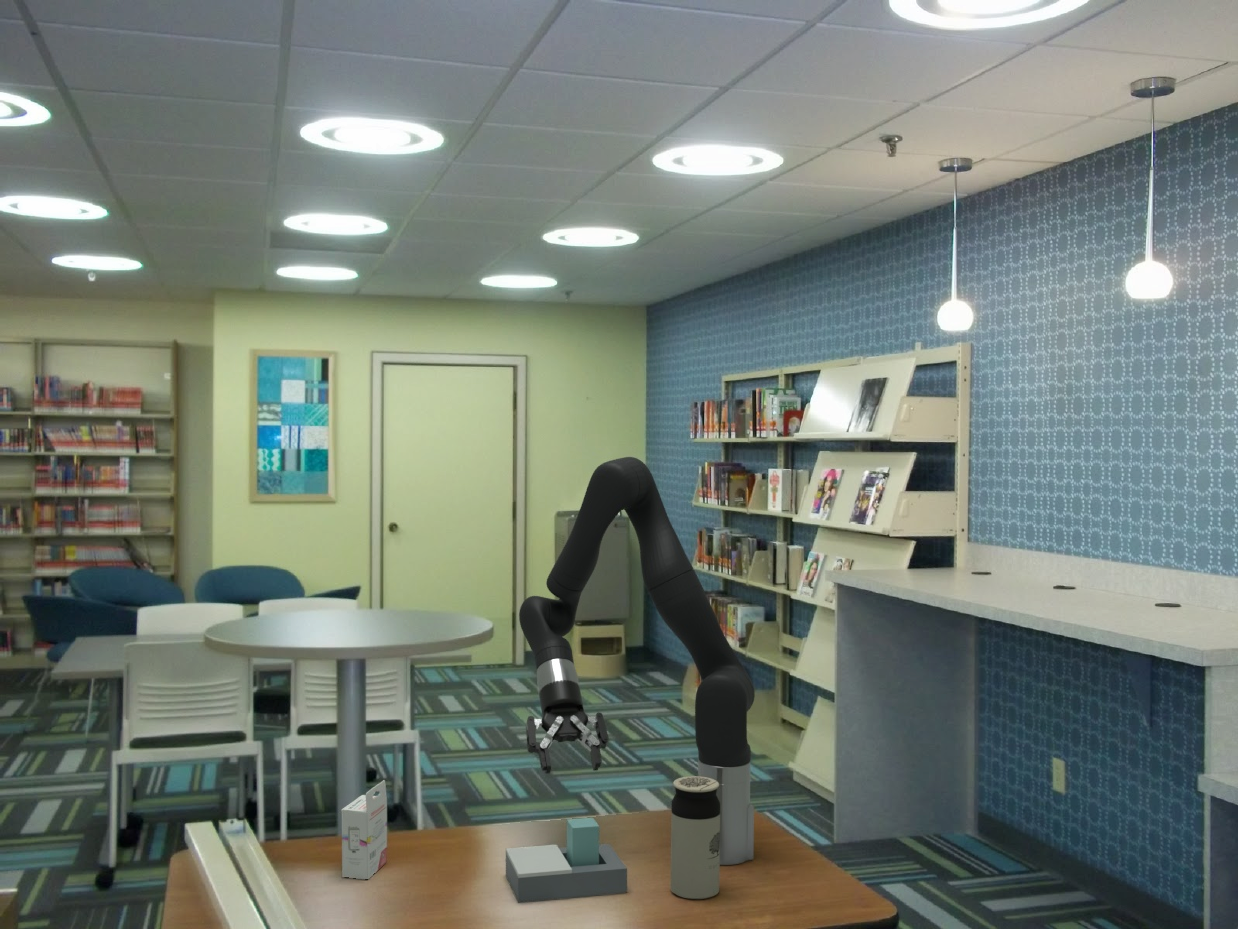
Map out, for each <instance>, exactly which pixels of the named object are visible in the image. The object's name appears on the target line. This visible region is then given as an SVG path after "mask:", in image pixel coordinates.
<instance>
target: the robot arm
mask: <svg viewBox="0 0 1238 929" xmlns="http://www.w3.org/2000/svg"><path fill="white" fill-rule="evenodd" d="M623 510H624V512H625V513H626V515H627V517H628V518H629V521H630V523H631V525H632V527H633V528H634V531H635V534H636V537H637V540H638V544H639V545H638V546H639V557H640V565H641V566H640V567H641V574H642V575H641V576H642V580H643V584H644V586H645V588H646V591H647V592H648V594H649V596H650V598H651V601H652V603H653V605H654V607H655V609H656V611H657V612H658V614H659V615H660V617H661V619H662V620H663V621H664V623H665V624H666V626H667V627H668V628H669V629H670V630H671V631H672V632H673V634H674V635H675V636H676V637H677V638H678V640H680V641H681V643H682V644H683V645H684V647H685V648H686V650H687V652H688V653H689V654H690V656H691V658H692V659H693V662H694V664H695V667H696V669H697V672H698V673H699V676H700V678H701V682H700V683H699V684H698V687H697V690H696V692H695V699H694V700H695V701H694V702H695V703H694V713H695V714H694V720H695V721H694V723H695V729H694V730H695V732H694V734H695V744H696V747H697V751H698V760H697V762H698V764H697V765H698V768H697V769H698V770H697V776H698V777H707V778H711V779H714V780H716V781H717V782H718V783H719V787H718V788H717V793H716V795H717V797H718V799H719V801H720V862H719V866H721V865H722V866H725V865H726V866H729V865H739V864H741V863H744V862H747V861H751V860H752V861H753V860H754V843H755V841H754V840H755V836H754V834H755V831H754V829H755V828H754V826H755V824H754V822H755V820H754V819H755V807H754V805H753V804H752V803H751V757H752V756H751V746H750V744H749V743H748V736H747V735H748V730H747V729H748V722H747V721H748V720H747V719H748V712H749V710H751V708H752V706H753V704H754V701H755V696H756V695H755V693H756V692H755V686H754V683H753V680H752V679H751V677H750V675H749V673H748V671H747V670H746V668H745V667H744V665H743V663H742V662H741V661H740V660H739V657H738V656H737V655H736V653H735V650H734V649H733V648H732V646H731V645H730V643H729V641H728V639H727V637H726V636H725V634H724V631H723V630H722V627H721V625H720V622H719V620H718V618H717V616H716V613H715V611H714V608H713V607H712V604H711V603H710V600H709V599H708V596H707V594H706V592H705V589H704V587H703V584H702V583H701V581H700V579H699V577H698V574H697V573H696V571H695V569H694V566H693V565H692V563H691V561H690V560H689V558H688V556H687V554H686V551H685V550H684V546H682V543H681V541H680V539H679V537H678V534H677V532H676V531H675V529H674V527H673V524H672V523H671V521H670V518H669V516H668V513H667V511H666V508H665V506H664V502H663V501H662V497H661V494H660V492H659V490H658V486H657V484H656V481H655V479H654V477H653V473H652V472H651V470H650V469H649V467H648V466H647V465H646V463H644V462H643V461H642V460H640V459H639V458H637V457H633V456H626V457H619V458H616V459H612V460H608V461H606V462H603V463H601V464H599V465H598V466H597V467H596V468H595V470H593V473H592V475H591V478H590V479H589V481H588V484H587V487H586V491H585V493H584V497H583V499H582V503H581V506H580V509H579V510H578V513H577V516H576V520H575V522H574V524H573V527H572V529H571V531H570V534H569V536H568V539H567V540H566V542H565V544H564V546H563V548H562V550H561V551H560V554H559V556H558V557H557V560H556V561H555V563H554V565H553V567H552V568H551V570H550V571H549V574H548V577H546V578H547V579H546V582H545V583H546V587H547V590H548V591H549V592H550V593H551V595H553V596H555V597H556V598H558V599H555V598H554V599H553V598H549V597H544V596H541V595H532V596H528V597H526V598H525V599H524V601H523V602H522V603H521V605H520V608H519V611H518V612H519V613H518V620H519V625H520V629H521V631H522V633H523V635H524V637H525V639H526V641H527V643H528V645H529V648H530V650H531V652H532V653H533V655H534V660H535V661H534V662H535V669H536V682H537V694H538V696H539V704H540V710H541V715H542V718H535V717H534V716H532V715H528V717H527V719H526V722H525V723H526V724H525V733H526V734H525V737H526V748H527V749H526V750H527V752H528V753H529V754H532V753H536V754H538V757H539V763H540V768H541V770H542V772H543V771H544V774H546V775H547V774H550V773H551V770H552V765H551V758H550V751H549V748H550V747H551V746H552V744H553V743H554V741H555V742H556V741H557V743H564V742H576V740H577V741H578V742H579V743H580V744H581V745H582V746H585V747H586V748H588V750H590V752H589V754H590V755H589V756H590V760H591V766H592V771H599V768H601V764H602V762H603V760H602V754H601V749H606V748H607V745H608V742H609V740H610V738H609V733H608V730H607V726H606V722H605V718H604V714H603V713H602V712H599V711H598V712H597V713H596V714H595V715H589V716H588V715H587V714H586V713H585V712H586V711H585V710H584V708H585V707H584V703H583V699H582V693H581V687H580V683H579V676H578V673H577V670H576V666H575V662H574V657H573V651H572V646H571V644H570V642H569V641H568V639H567V638H565V636H566V635H567V634H570V632H571V630H572V629H573V627H574V625H575V621H576V615H577V611H578V606H579V604H580V603H579V602H580V600H581V596H582V593H583V591H584V589H585V588H586V586H587V583H588V582H589V580H590V578H591V576H592V575H593V572H594V571H595V568H596V566H597V564H598V560H599V556H600V551H601V550H600V549H601V545H602V541H603V539H604V535H605V533H606V531H607V529H608V528H609V527H610V525H611V523H612V522H613V521H614V520H615V518H616V517H617V516H618V515H619V513H620V512H621V511H623ZM588 724H590V726H591V728H592V729H595V733H596V736H597V737H596V736H595V735H594V734H593V733H592V731H591V730H590V729H589V728H588V727H587V725H588ZM539 727H541V728H542V730H544V731H545V732H546V734H545V735H544V738H543V739H542V740H541V742H538V741H537V737H536V733H537V732H538V730H539Z"/></svg>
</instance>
